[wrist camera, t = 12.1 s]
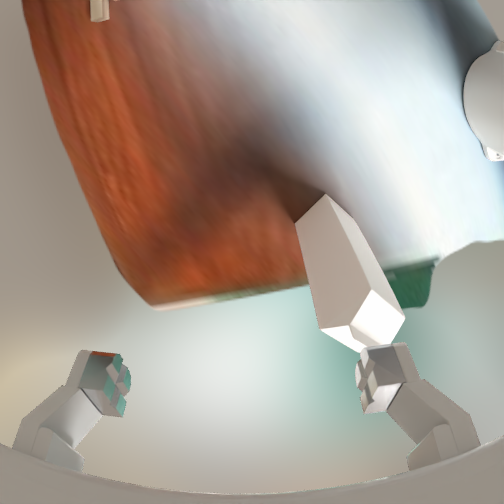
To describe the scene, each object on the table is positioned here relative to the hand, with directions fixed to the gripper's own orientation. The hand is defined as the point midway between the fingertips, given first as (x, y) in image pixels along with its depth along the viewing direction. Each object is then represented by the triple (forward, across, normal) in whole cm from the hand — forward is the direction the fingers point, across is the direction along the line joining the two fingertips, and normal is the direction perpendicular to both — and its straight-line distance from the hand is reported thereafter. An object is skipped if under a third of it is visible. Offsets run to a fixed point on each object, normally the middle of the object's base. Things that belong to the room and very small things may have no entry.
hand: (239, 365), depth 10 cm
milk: (+31, -10, +12) cm, 35 cm away
